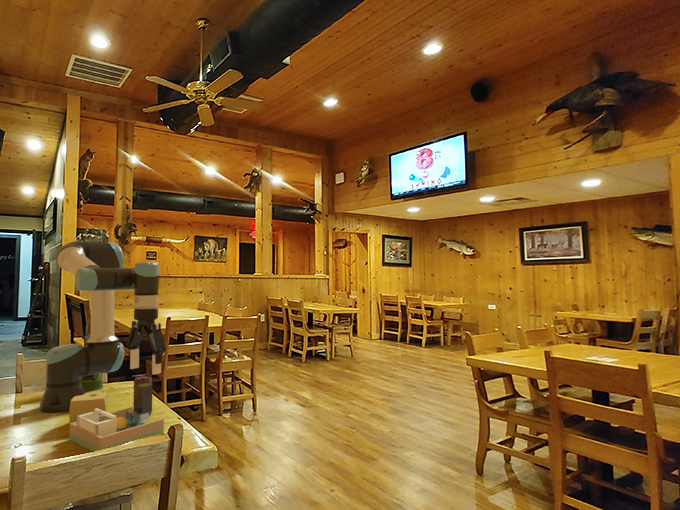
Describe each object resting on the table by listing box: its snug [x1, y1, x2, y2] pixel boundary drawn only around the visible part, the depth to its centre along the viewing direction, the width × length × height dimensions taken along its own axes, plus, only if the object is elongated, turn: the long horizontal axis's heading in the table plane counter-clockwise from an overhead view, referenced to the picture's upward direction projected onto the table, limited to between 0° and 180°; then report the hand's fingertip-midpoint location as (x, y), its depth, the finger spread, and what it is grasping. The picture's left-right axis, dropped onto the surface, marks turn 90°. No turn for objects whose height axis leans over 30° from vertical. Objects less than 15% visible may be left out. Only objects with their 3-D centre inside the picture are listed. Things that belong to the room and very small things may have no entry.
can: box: [132, 375, 153, 417], centre depth 162 cm, size 6×6×14 cm
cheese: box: [68, 390, 108, 424], centre depth 152 cm, size 10×11×10 cm
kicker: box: [126, 383, 153, 427], centre depth 147 cm, size 7×6×12 cm
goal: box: [77, 408, 117, 436], centre depth 136 cm, size 12×6×7 cm, turn 54°
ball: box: [117, 417, 127, 430], centre depth 142 cm, size 4×4×4 cm
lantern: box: [81, 320, 104, 393], centre depth 197 cm, size 14×11×30 cm
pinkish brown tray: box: [68, 407, 165, 452], centre depth 141 cm, size 20×20×5 cm
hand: (145, 371), depth 149 cm, fingers open, 13 cm apart
